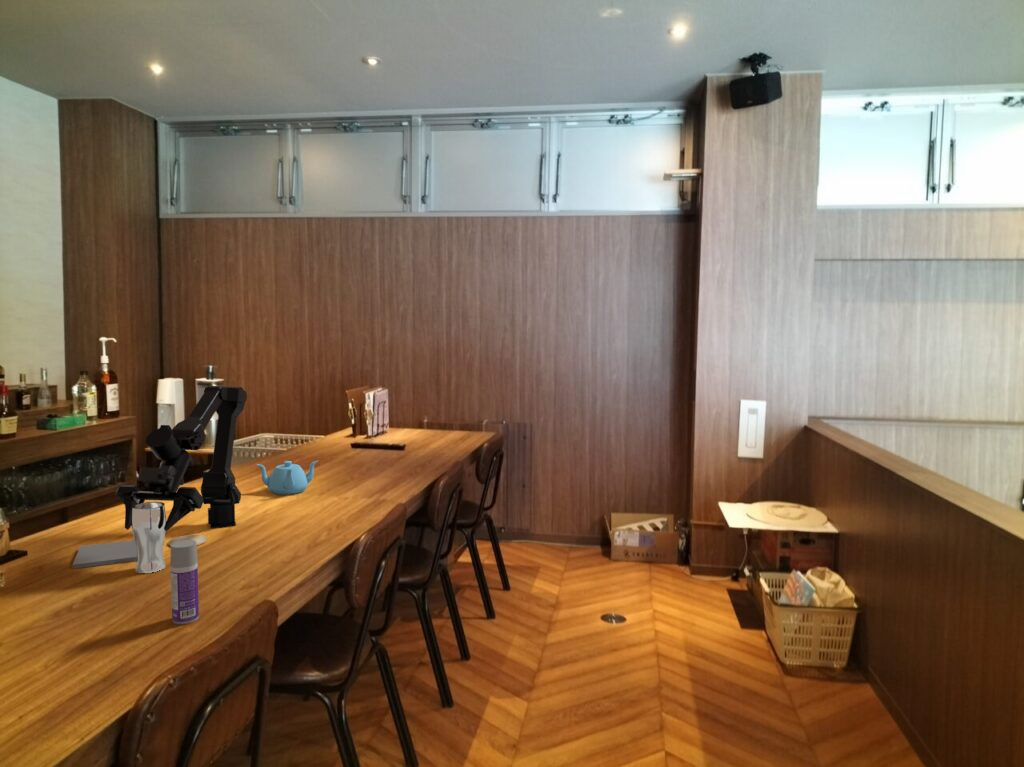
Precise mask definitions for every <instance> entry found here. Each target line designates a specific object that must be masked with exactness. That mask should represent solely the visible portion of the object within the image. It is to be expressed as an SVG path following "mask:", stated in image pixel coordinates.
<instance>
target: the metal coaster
mask: <svg viewBox="0 0 1024 767" xmlns="http://www.w3.org/2000/svg"><path fill="white" fill-rule="evenodd" d="M182 540H194V541H196V546H197V545H198V546H201V545H203V543H204V544H205V543H207V541H208V538H207V536H206V535H202V534H188V535H187V534H186V535H181V536H177V537H174V538H171V539H169V541H168V546H169V545H170V546H171V544H172V543H174V542H177V541H182ZM170 546H169V547H170ZM198 546H197V547H198Z"/></svg>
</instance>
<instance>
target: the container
mask: <svg viewBox="0 0 1024 767" xmlns="http://www.w3.org/2000/svg"><path fill="white" fill-rule="evenodd" d="M197 547H198V546H196V541H194V540H182V541H177V542H174V543H172V544H171V547H170V591H171V592H170V595H171V598H170V599H171V620H172V623H173V624H175V625H187V624H191V623H194V622H196V621H197V620H199V618H200V611H199V610H200V607H199V606H200V605H199V604H200V603H199V566H198V551H197V550H198V549H197Z"/></svg>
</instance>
